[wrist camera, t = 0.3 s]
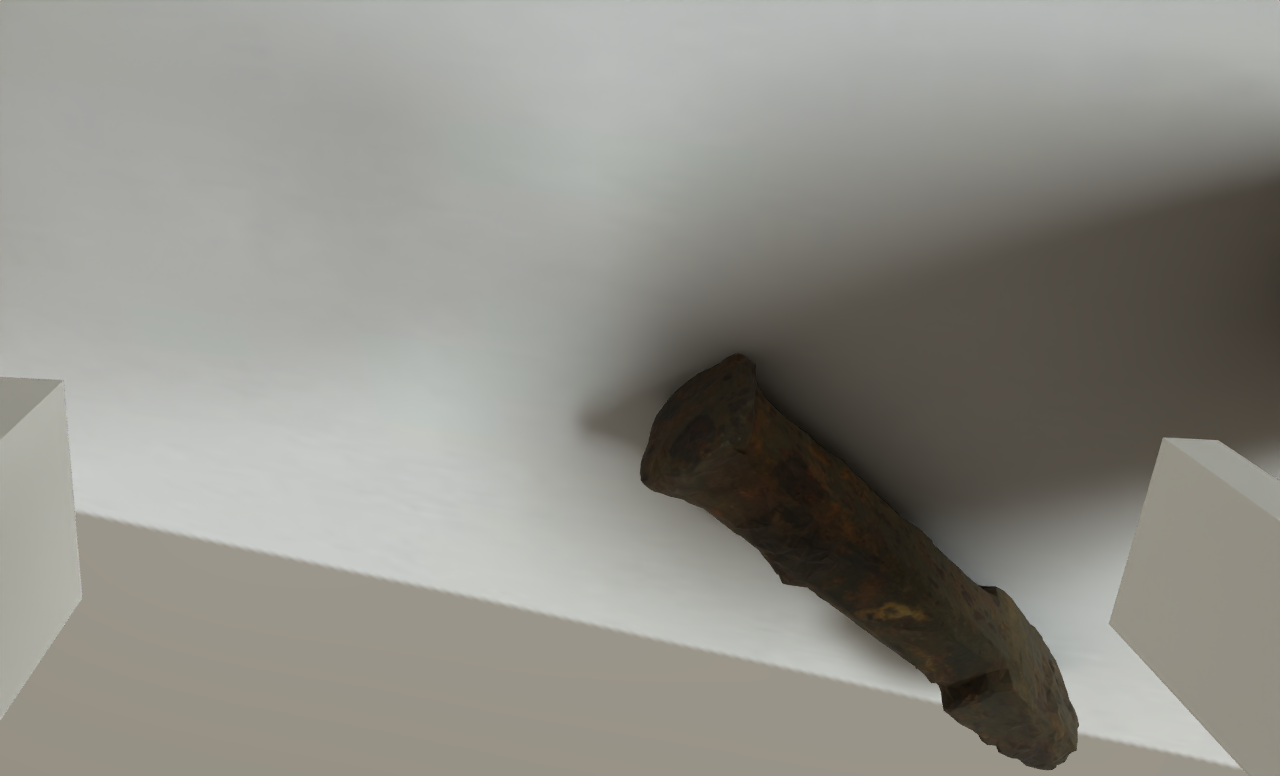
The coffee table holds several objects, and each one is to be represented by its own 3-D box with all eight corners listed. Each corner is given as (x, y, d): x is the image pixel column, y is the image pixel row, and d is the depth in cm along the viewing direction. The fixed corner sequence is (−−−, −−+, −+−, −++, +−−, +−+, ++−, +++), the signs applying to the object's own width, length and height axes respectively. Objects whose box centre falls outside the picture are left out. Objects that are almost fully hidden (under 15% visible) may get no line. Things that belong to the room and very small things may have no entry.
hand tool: (640, 394, 32) (620, 516, 29) (746, 330, 30) (738, 454, 27) (986, 688, 41) (1003, 809, 37) (1088, 655, 39) (1115, 780, 35)
